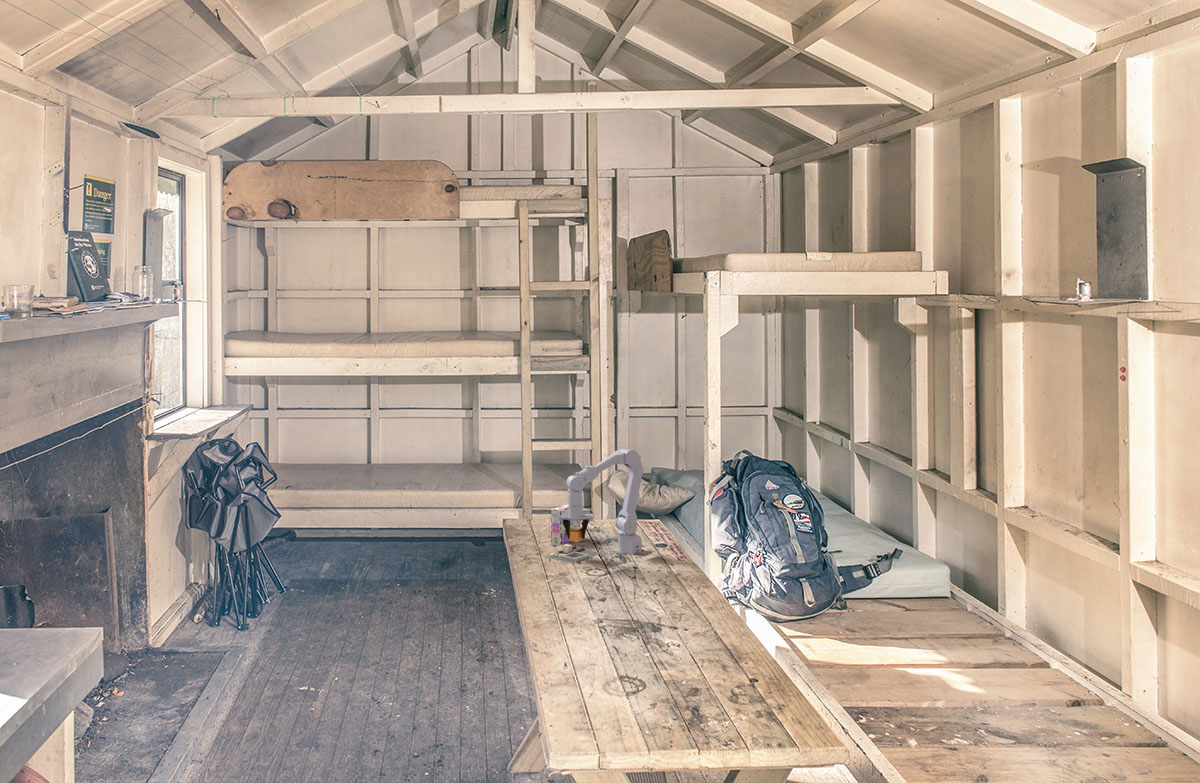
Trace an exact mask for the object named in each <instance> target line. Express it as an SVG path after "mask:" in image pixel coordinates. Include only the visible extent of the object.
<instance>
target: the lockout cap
mask: <svg viewBox="0 0 1200 783" xmlns="http://www.w3.org/2000/svg"><path fill="white" fill-rule="evenodd" d="M569 532H570V541H571V542H576V543H579V542H580V541H583V540H584V539H582V526H580V527H573V528H570V529H569Z"/></svg>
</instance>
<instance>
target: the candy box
mask: <svg viewBox="0 0 1200 783" xmlns="http://www.w3.org/2000/svg"><path fill="white" fill-rule="evenodd" d="M559 515H569V505H568V503H567V504H564V505H560V506H557V507H554V508H550V537H551V540H550V541H551V546H553V547H558V546H561V545H565V544H569V543H570V542H572V541H570V539H568V535H567V532H566V529H565V527H564V526H563V521H558V516H559ZM573 527H581V521H570V528H573Z"/></svg>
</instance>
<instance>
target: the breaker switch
mask: <svg viewBox="0 0 1200 783" xmlns="http://www.w3.org/2000/svg"><path fill="white" fill-rule="evenodd" d="M572 547H573V545H572V544H569V543H565V544H562V550H563V552H564V553H569V552H572Z"/></svg>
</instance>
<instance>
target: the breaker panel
mask: <svg viewBox="0 0 1200 783" xmlns="http://www.w3.org/2000/svg"><path fill="white" fill-rule="evenodd" d="M601 554H603V552H598V551H594V550H588V549H586V548H585V547H581V548H579V547H577V545H574V546H573V545H572V552H569V553H564V552H563V549H561V550H559V551H558V552H556V553H551V554H550V555H548V556H545V558H546V559H551V560H555V561H560V562H565V563H568V564H570V563H571V564H575V563H578V562H581V561H584V560H586V559H590V558H592V557H595V556H599V555H601Z"/></svg>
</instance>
